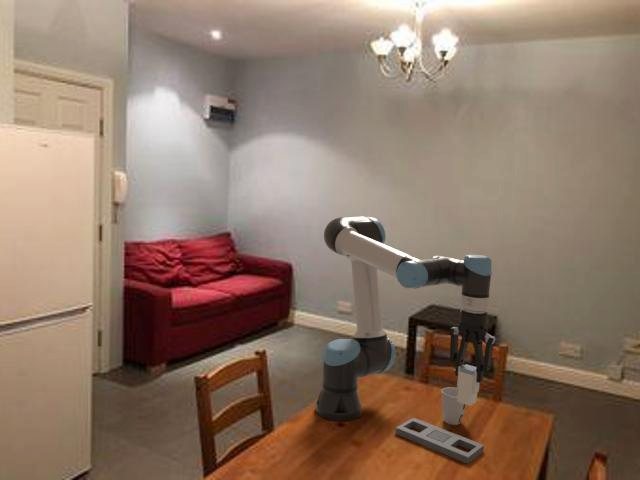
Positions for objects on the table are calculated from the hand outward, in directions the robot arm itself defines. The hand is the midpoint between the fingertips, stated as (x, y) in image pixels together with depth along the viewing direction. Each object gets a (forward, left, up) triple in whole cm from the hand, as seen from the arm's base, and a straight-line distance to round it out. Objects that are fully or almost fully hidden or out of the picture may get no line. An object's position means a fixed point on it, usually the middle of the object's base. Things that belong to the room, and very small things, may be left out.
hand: (467, 389), depth 157 cm
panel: (-8, 0, -19) cm, 21 cm away
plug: (0, 0, -4) cm, 4 cm away
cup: (-12, +16, -19) cm, 28 cm away
